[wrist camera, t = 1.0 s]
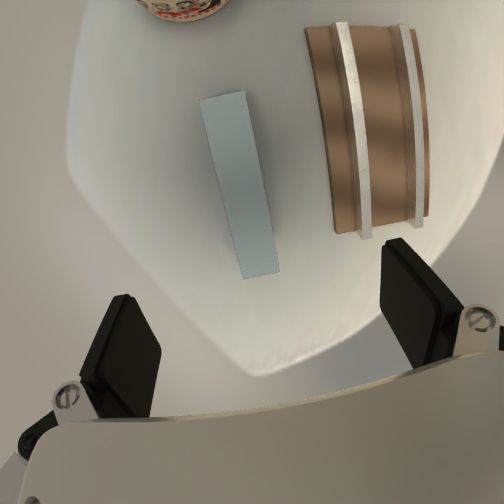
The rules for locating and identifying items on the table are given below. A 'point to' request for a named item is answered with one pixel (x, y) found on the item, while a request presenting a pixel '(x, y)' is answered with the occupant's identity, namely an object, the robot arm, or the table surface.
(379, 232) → the table surface
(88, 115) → the table surface
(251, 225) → the door panel
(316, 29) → the bottom track
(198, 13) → the teacup with lid
